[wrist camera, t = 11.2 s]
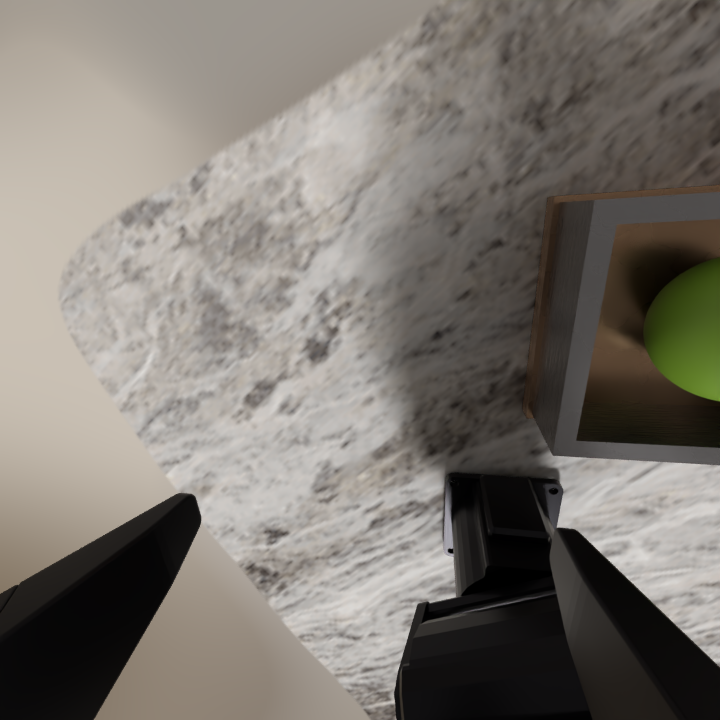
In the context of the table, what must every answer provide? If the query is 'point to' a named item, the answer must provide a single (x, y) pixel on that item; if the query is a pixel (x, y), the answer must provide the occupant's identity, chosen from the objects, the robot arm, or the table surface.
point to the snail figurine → (688, 330)
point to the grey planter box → (617, 326)
